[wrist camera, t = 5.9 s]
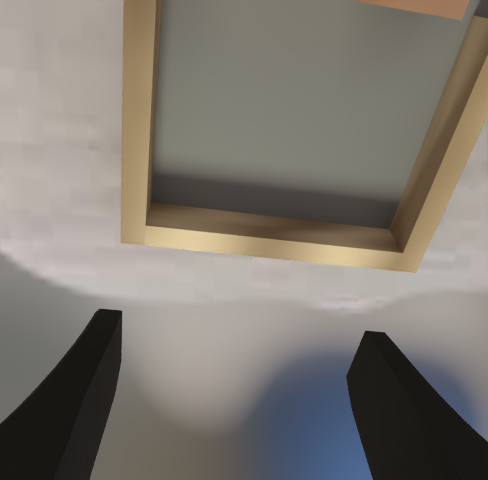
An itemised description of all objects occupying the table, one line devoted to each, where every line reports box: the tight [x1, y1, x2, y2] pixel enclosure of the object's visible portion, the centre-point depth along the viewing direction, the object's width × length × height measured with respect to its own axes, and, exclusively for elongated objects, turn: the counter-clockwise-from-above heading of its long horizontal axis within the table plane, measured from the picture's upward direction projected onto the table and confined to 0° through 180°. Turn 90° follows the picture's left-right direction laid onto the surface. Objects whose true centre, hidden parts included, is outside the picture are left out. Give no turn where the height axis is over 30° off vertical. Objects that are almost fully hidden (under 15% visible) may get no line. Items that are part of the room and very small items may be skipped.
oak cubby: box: [121, 0, 488, 273], centre depth 18 cm, size 13×10×2 cm
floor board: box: [151, 0, 488, 229], centre depth 18 cm, size 15×16×1 cm
